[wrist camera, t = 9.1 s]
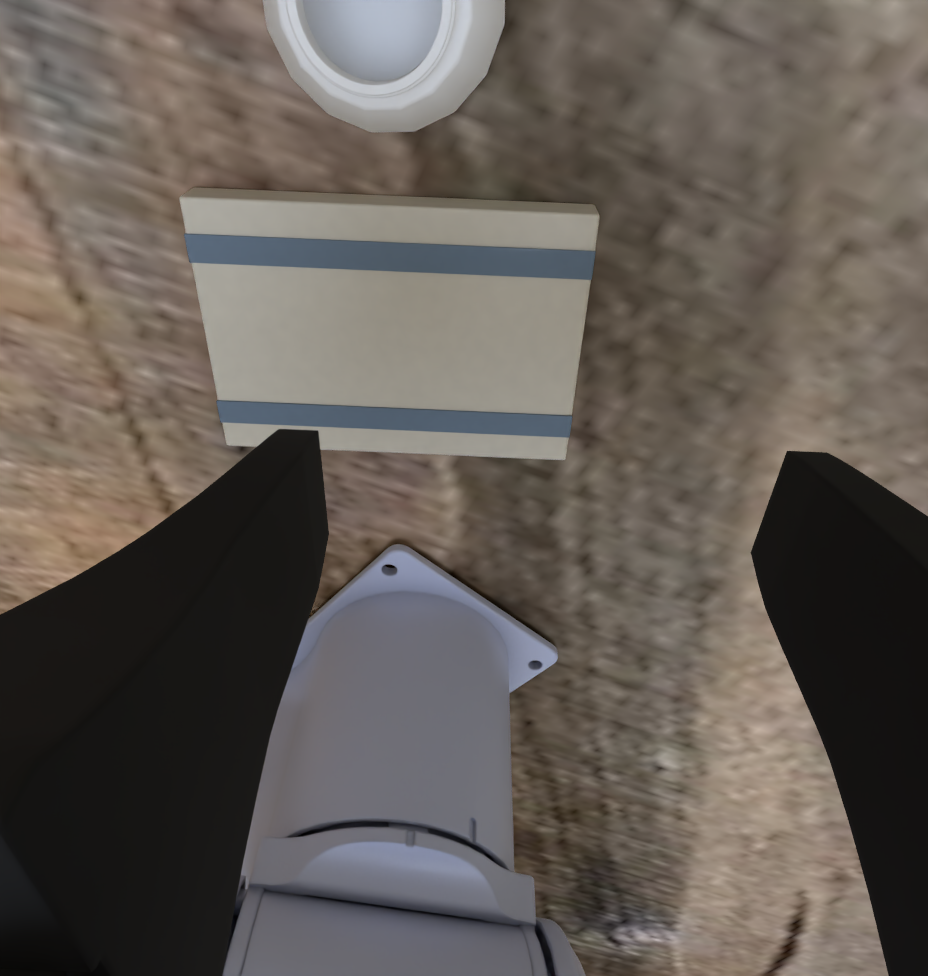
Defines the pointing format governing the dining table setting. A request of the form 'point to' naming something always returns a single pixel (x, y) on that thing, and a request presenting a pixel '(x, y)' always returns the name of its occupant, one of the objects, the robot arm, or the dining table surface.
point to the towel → (393, 318)
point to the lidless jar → (386, 55)
